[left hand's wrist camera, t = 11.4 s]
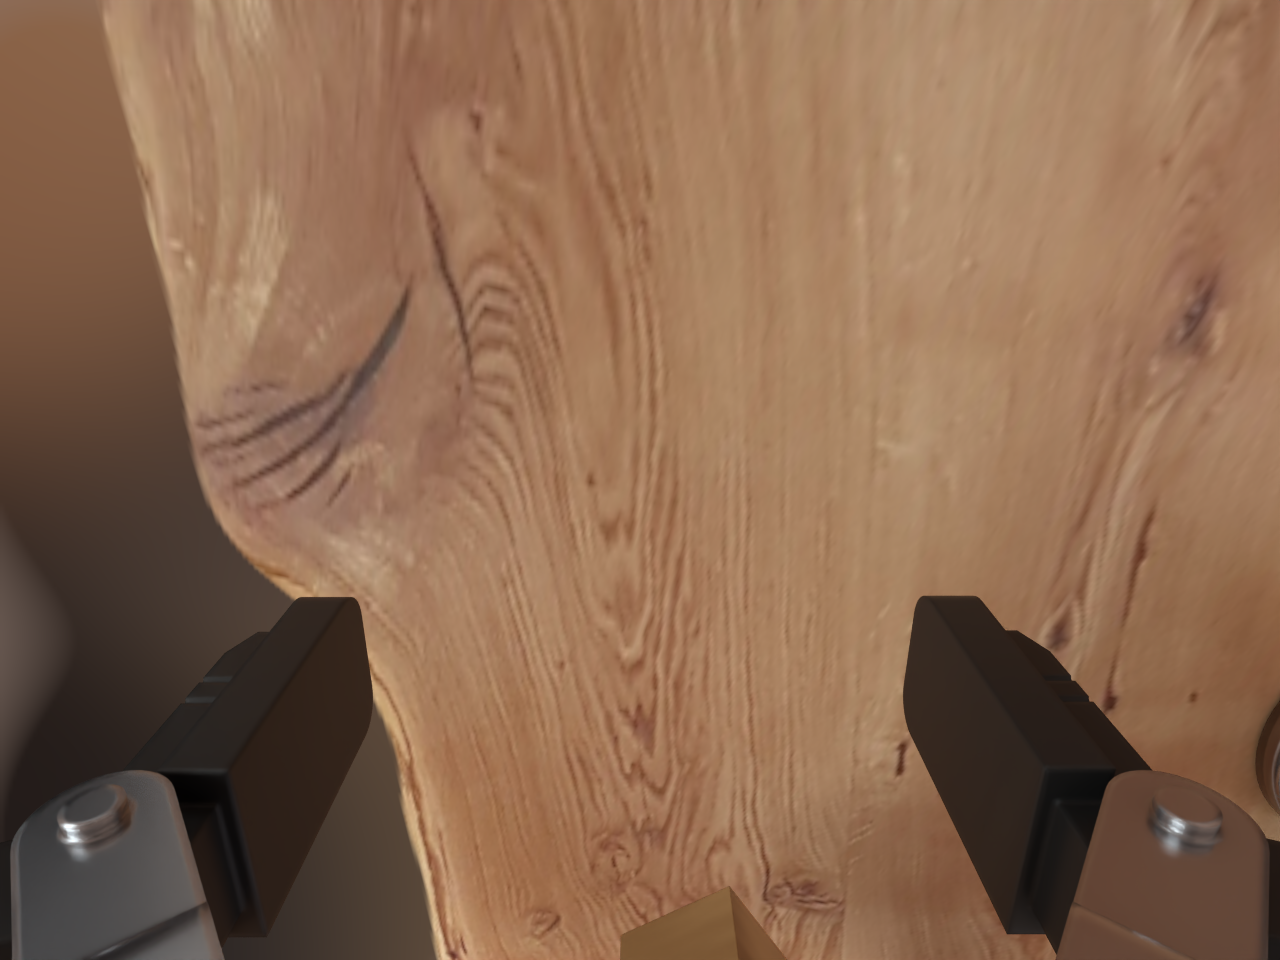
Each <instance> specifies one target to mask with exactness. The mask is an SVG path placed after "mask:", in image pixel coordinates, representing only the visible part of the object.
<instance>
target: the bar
mask: <svg viewBox="0 0 1280 960" xmlns="http://www.w3.org/2000/svg"><path fill="white" fill-rule="evenodd" d="M620 960H787V959H786V957H785V956H784V955H783V954H782V952H781V951H780V950H779V948H778V947H777V946H776V945H775V943H774V942H773V941H772V940H771V938H770V937H769V936H768V935H767V933H766V932H765V931H764V929H763V928H762V927H761V926H760V924H759V923H758V922H757V921H756V919H755V918H754V917H753V915H752V914H751V913H750V912H749V910H748V909H747V908H746V907H745V905H744V904H743V903H742V901H741V900H740V899H739V898H738V896H737V895H736V894H735V893H734V891H733V890H732V889H731V887H730V886H729V887H726V888H724V889H722V890H720V891H718V892H715V893H713V894H711V895H709V896H706V897H704V898H702V899H700V900H698V901H695V902H693V903H691V904H689V905H687V906H684V907H682V908H680V909H678V910H675V911H673V912H671V913H669V914H667V915H664V916H662V917H660V918H658V919H655V920H653V921H651V922H649V923H647V924H644V925H642V926H640V927H638V928H636V929H633V930H631V931H629V932H627V933H624V934H622V935H621V951H620Z"/></svg>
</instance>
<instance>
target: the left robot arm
mask: <svg viewBox="0 0 1280 960" xmlns="http://www.w3.org/2000/svg"><path fill="white" fill-rule="evenodd" d="M903 704H904V713H905V719H906V723H907V727H908V730H909V732H910V734H911V737H912V739H913V741H914V743H915V745H916V747H917V749H918V751H919V753H920V755H921V757H922V759H923V761H924V763H925V765H926V768H927V770H928V772H929V774H930V776H931V778H932V780H933V782H934V784H935V786H936V788H937V790H938V792H939V794H940V796H941V799H942V801H943V803H944V805H945V807H946V809H947V811H948V813H949V815H950V817H951V819H952V821H953V823H954V825H955V828H956V830H957V832H958V834H959V836H960V838H961V840H962V842H963V844H964V846H965V848H966V850H967V852H968V854H969V856H970V859H971V861H972V863H973V865H974V867H975V869H976V871H977V873H978V875H979V877H980V879H981V881H982V883H983V885H984V887H985V890H986V892H987V894H988V896H989V898H990V900H991V902H992V904H993V906H994V908H995V910H996V912H997V914H998V916H999V918H1000V921H1001V923H1002V925H1003V927H1004V929H1005V931H1006V933H1007V934H1046V936H1047V938H1048V940H1049V941H1050V943H1051V945H1052V947H1053V949H1054V951H1055V953H1056V955H1057V956H1056V960H1280V841H1275V840H1271V839H1267V838H1266V837H1265V835H1264V833H1263V832H1262V830H1261V829H1260V827H1259V826H1258V824H1257V823H1256V822H1255V821H1254V820H1253V819H1252V818H1251V817H1250V816H1249V815H1248V814H1247V813H1246V812H1245V811H1244V810H1242V809H1241V808H1240V807H1239V806H1238V805H1236V804H1235V803H1233V802H1232V801H1231V800H1229V799H1228V798H1226V797H1224V796H1223V795H1221V794H1219V793H1218V792H1216V791H1214V790H1212V789H1210V788H1208V787H1206V786H1204V785H1202V784H1200V783H1197V782H1195V781H1192V780H1190V779H1187V778H1184V777H1180V776H1177V775H1173V774H1169V773H1165V772H1158V771H1152V769H1151V768H1150V767H1149V766H1148V765H1147V764H1146V762H1145V761H1144V760H1143V759H1142V758H1141V757H1140V755H1139V754H1138V753H1137V752H1136V751H1135V750H1134V748H1133V747H1132V746H1131V745H1130V744H1129V743H1128V742H1127V740H1126V739H1125V738H1124V737H1123V736H1122V735H1121V733H1120V732H1119V731H1118V730H1117V729H1116V728H1115V726H1114V725H1113V724H1112V723H1111V722H1110V721H1109V719H1108V718H1107V717H1106V716H1105V715H1104V714H1103V712H1102V711H1101V710H1100V709H1099V708H1098V707H1097V705H1096V704H1095V703H1094V702H1089V696H1088V695H1087V694H1086V693H1085V692H1084V690H1083V689H1082V688H1081V687H1080V686H1079V685H1078V683H1077V682H1076V681H1072V680H1071V675H1070V674H1069V673H1068V672H1067V671H1066V669H1065V668H1064V667H1063V666H1062V665H1061V664H1060V663H1059V661H1058V660H1057V659H1056V658H1055V657H1054V656H1053V654H1052V653H1051V652H1050V651H1048V650H1047V649H1045V648H1044V647H1042V646H1041V645H1039V644H1037V643H1036V642H1034V641H1033V640H1031V639H1030V638H1028V637H1026V636H1025V635H1023V634H1022V633H1020V632H1019V631H1006V630H1005V629H1004V628H1003V627H1002V625H1001V624H1000V623H999V622H998V620H997V619H996V618H995V617H994V616H993V614H992V613H991V612H990V611H989V609H988V608H987V607H986V606H985V604H984V603H983V602H982V601H981V600H980V599H979V598H978V597H976V596H922V597H920V598H919V600H918V602H917V604H916V607H915V612H914V618H913V625H912V632H911V639H910V646H909V653H908V660H907V667H906V674H905V680H904V688H903ZM372 706H373V690H372V682H371V675H370V668H369V662H368V655H367V648H366V641H365V634H364V628H363V621H362V614H361V609H360V606H359V604H358V602H357V600H356V599H355V598H353V597H300V598H298V599H296V600H295V601H294V602H293V604H292V605H291V606H290V607H289V608H288V610H287V611H286V612H285V613H284V615H283V616H282V617H281V618H280V620H279V621H278V622H277V623H276V625H275V626H274V627H273V628H272V629H271V631H270V632H257V633H256V634H254V635H253V636H251V637H249V638H248V639H246V640H245V641H243V642H242V643H240V644H238V645H237V646H235V647H234V648H232V649H231V650H229V651H227V652H226V653H225V654H224V655H223V656H222V657H221V658H220V659H219V660H218V662H217V663H216V664H215V665H214V666H213V667H212V669H211V670H210V671H209V672H208V673H207V674H206V675H205V677H204V681H203V683H199V684H198V685H197V686H196V687H195V688H194V689H193V690H192V692H191V693H190V694H189V695H188V696H187V697H186V702H185V704H180V705H179V707H178V708H177V709H176V710H175V711H174V712H173V713H172V715H171V716H170V717H169V718H168V719H167V720H166V721H165V723H164V724H163V725H162V726H161V727H160V728H159V730H158V731H157V732H156V733H155V734H154V735H153V736H152V738H151V739H150V740H149V741H148V742H147V743H146V744H145V746H144V747H143V748H142V749H141V750H140V751H139V753H138V754H137V755H136V756H135V757H134V758H133V759H132V761H131V762H130V763H129V764H128V765H127V766H126V768H125V769H124V770H123V771H122V772H115V773H111V774H107V775H103V776H100V777H97V778H94V779H90V780H88V781H85V782H83V783H80V784H78V785H76V786H74V787H72V788H70V789H68V790H66V791H64V792H62V793H61V794H59V795H57V796H56V797H54V798H52V799H51V800H49V801H48V802H47V803H45V804H44V805H42V806H41V807H40V808H39V809H38V810H36V811H35V812H34V813H33V814H32V815H31V816H30V817H29V818H28V819H27V820H26V821H25V822H24V823H23V824H22V826H21V827H20V829H19V830H18V832H17V833H16V835H15V837H14V839H13V840H9V841H6V842H2V843H0V960H224V956H223V953H222V947H223V945H224V944H225V942H226V940H227V938H228V937H267V936H268V934H269V932H270V930H271V928H272V926H273V924H274V922H275V919H276V918H277V916H278V913H279V911H280V909H281V907H282V905H283V903H284V901H285V899H286V897H287V895H288V893H289V891H290V889H291V887H292V885H293V883H294V881H295V879H296V877H297V875H298V873H299V871H300V869H301V867H302V864H303V862H304V860H305V858H306V856H307V854H308V852H309V850H310V848H311V846H312V844H313V842H314V840H315V838H316V836H317V834H318V832H319V830H320V828H321V826H322V824H323V822H324V820H325V818H326V816H327V813H328V811H329V809H330V807H331V805H332V803H333V801H334V799H335V797H336V795H337V793H338V791H339V789H340V787H341V785H342V783H343V781H344V779H345V777H346V775H347V772H348V771H349V768H350V766H351V764H352V762H353V760H354V758H355V756H356V754H357V752H358V750H359V748H360V746H361V744H362V742H363V740H364V738H365V736H366V733H367V731H368V728H369V724H370V720H371V714H372Z"/></svg>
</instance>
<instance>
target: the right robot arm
mask: <svg viewBox="0 0 1280 960" xmlns="http://www.w3.org/2000/svg"><path fill="white" fill-rule="evenodd" d="M1256 774H1257V780H1258V783H1259V786H1260V789H1261V791H1262V793H1263V795H1264V797H1265V798H1266V800H1267V801H1268V803H1269V804H1270V805H1271V806H1272V808H1273V809H1274V810H1275V811H1276V812H1277V813H1278V814H1279V815H1280V701H1279V703H1278V704H1277V706H1276V707H1275V708H1274V710H1273V712H1272V713H1271V715H1270V717H1269V718H1268V720H1267V722H1266V724H1265V727H1264V729H1263V731H1262V734H1261V737H1260V740H1259V743H1258V748H1257V754H1256Z"/></svg>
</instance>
